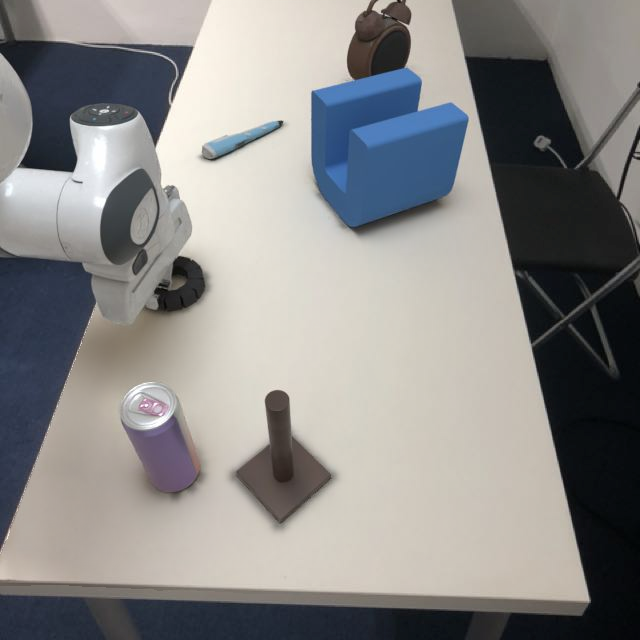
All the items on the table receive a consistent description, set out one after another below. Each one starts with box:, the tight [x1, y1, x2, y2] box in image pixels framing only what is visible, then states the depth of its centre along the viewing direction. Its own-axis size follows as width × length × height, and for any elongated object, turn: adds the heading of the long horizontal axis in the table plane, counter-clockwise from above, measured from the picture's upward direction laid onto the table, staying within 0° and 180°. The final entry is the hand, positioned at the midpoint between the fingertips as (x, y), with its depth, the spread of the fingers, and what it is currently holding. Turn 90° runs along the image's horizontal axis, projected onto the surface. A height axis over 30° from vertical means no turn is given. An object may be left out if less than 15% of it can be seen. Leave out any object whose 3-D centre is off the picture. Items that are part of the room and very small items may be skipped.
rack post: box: [235, 389, 332, 524], centre depth 61 cm, size 8×8×17 cm
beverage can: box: [119, 381, 201, 493], centre depth 62 cm, size 6×6×15 cm
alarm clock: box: [346, 0, 413, 81], centre depth 120 cm, size 15×7×20 cm, turn 132°
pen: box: [201, 120, 284, 160], centre depth 112 cm, size 19×3×3 cm, turn 132°
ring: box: [153, 255, 206, 312], centre depth 87 cm, size 10×10×2 cm
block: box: [310, 67, 470, 228], centre depth 96 cm, size 18×18×18 cm
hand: (159, 296), depth 84 cm, fingers closed on ring, 2 cm apart
